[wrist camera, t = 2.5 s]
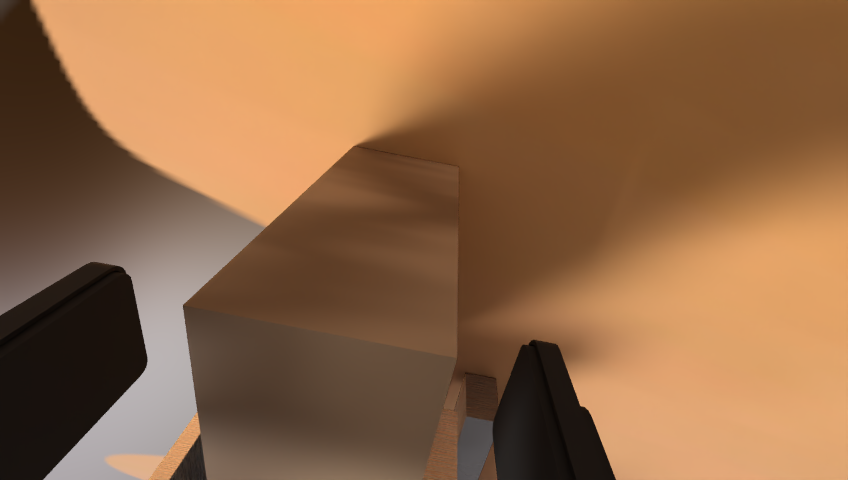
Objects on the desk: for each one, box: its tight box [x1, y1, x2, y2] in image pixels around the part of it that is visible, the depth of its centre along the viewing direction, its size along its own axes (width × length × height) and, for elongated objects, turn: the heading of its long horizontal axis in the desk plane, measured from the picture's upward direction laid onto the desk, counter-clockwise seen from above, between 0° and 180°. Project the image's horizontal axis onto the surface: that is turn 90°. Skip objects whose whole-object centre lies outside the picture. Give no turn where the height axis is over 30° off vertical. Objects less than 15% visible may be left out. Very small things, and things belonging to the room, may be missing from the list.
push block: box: [183, 146, 459, 480], centre depth 12 cm, size 4×8×10 cm, turn 170°
